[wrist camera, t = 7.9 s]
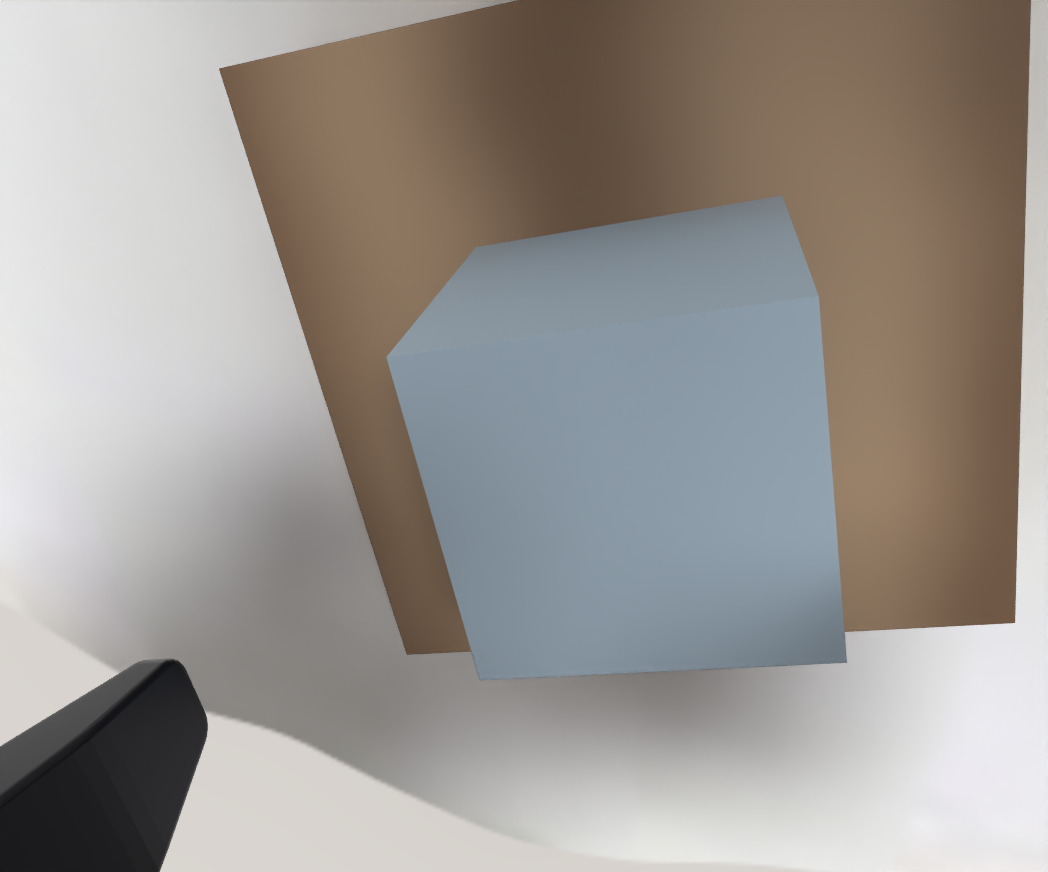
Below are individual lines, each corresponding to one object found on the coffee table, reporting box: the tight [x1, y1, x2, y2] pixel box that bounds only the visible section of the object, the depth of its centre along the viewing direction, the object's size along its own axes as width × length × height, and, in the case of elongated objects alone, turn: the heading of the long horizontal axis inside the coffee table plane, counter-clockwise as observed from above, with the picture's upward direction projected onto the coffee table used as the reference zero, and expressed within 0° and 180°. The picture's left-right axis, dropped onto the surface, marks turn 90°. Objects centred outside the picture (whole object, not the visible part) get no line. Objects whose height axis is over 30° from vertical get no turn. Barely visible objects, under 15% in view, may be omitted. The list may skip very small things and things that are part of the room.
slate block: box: [386, 196, 847, 680], centre depth 14 cm, size 5×5×5 cm
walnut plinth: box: [219, 0, 1031, 655], centre depth 17 cm, size 12×12×3 cm
